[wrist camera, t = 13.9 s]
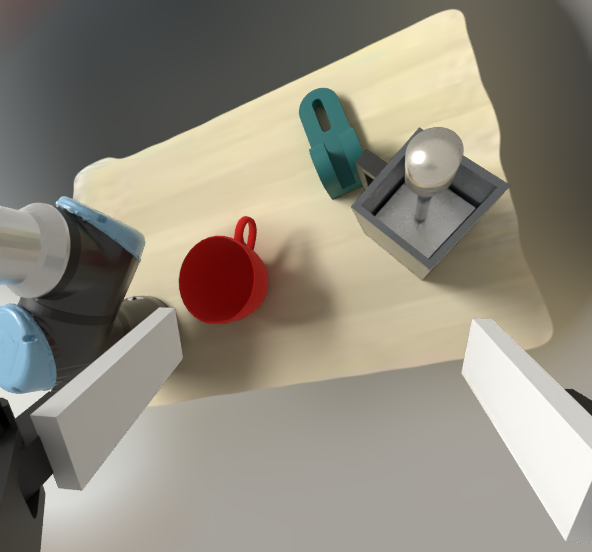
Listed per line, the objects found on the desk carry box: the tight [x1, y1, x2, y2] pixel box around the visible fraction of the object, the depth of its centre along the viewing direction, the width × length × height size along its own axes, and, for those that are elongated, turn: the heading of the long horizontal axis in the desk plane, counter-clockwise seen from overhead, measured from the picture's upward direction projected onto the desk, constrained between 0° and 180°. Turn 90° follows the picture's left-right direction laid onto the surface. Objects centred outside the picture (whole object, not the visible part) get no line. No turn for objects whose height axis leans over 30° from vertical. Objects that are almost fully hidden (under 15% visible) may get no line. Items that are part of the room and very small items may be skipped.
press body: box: [351, 128, 510, 280], centre depth 40 cm, size 15×11×14 cm
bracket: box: [299, 88, 363, 199], centre depth 48 cm, size 18×7×8 cm, turn 19°
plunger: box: [375, 127, 475, 258], centre depth 31 cm, size 9×9×17 cm
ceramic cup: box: [179, 216, 268, 324], centre depth 49 cm, size 13×17×10 cm
